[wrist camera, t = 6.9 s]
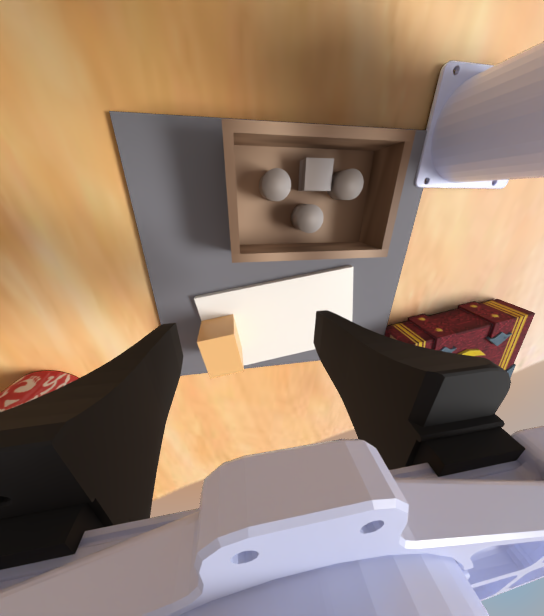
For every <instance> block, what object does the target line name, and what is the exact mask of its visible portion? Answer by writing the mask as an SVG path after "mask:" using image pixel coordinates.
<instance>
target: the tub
mask: <svg viewBox="0 0 544 616" xmlns="http://www.w3.org/2000/svg"><path fill="white" fill-rule="evenodd" d="M222 132H223V146H224V160H225V173H226V187H227V201H228V215H229V229H230V242H231V256H232V263H241V262H268V261H294V260H321V259H347V258H373V257H387V255H388V250H389V246H390V242H391V237H392V233H393V229H394V224H395V220H396V216H397V211H398V207H399V202H400V198H401V194H402V189H403V185H404V181H405V176H406V172H407V168H408V163H409V159H410V155H411V150H412V146H413V141H414V137H415V133H416V130H406V129H389V128H372V127H356V126H339V125H323V124H306V123H289V122H273V121H256V120H239V119H223V118H222Z"/></svg>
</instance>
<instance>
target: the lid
mask: <svg viewBox="0 0 544 616" xmlns="http://www.w3.org/2000/svg"><path fill="white" fill-rule="evenodd" d="M353 268H354V267H353V266H351V265H348V266H343V267H338V268H333V269H328V270H323V271H318V272H313V273H308V274H303V275H298V276H293V277H288V278H283V279H278V280H273V281H268V282H263V283H258V284H253V285H248V286H243V287H238V288H233V289H228V290H223V291H218V292H213V293H208V294H203V295H198V296H195V297H194V300H195V303H196V306H197V309H198V312H199V315H200V318H201V325H200V330H199V335H198V339H197V344H198V347H199V349H200V352H201V355H202V358H203V360H204V363H205V366H206V369H207V371H208V374H209V377H210V379H213V378H217V377H221V376H225V375H230V374H234V373H238V372H243V371H244V365H249V364H253V363H257V362H262V361H266V360H270V359H275V358H279V357H283V356H288V355H292V354H296V353H301V352H305V351H309V350H314V349H315V346H314V343H313V341H314V330H315V319H316V311H323V310H328V311H331V312H333V313H335V314H337V315H339V316H342V317H344V318H346V319H348V320H350V321H352V314H353Z"/></svg>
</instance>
